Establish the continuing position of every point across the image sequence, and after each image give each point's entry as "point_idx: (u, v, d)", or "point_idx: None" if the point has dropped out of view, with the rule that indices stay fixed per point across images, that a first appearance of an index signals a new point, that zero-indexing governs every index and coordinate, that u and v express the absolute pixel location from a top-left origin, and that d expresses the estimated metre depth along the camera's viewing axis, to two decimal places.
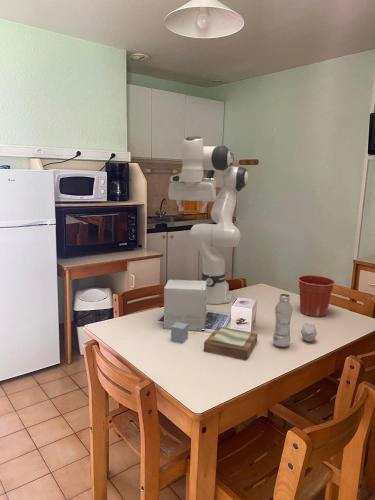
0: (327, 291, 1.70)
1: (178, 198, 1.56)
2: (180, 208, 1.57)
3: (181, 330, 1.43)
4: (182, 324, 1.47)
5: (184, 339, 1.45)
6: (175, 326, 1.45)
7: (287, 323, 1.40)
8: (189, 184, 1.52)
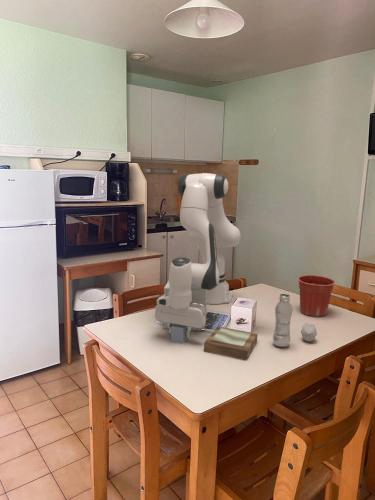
0: (327, 291, 1.70)
1: (165, 320, 1.46)
2: None
3: (181, 330, 1.43)
4: None
5: (184, 339, 1.45)
6: (175, 326, 1.45)
7: (287, 323, 1.40)
8: (176, 309, 1.42)
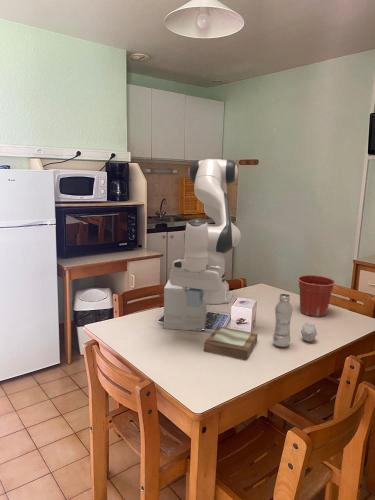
0: (327, 291, 1.70)
1: (180, 285, 1.42)
2: None
3: (197, 294, 1.39)
4: None
5: (200, 303, 1.41)
6: (191, 290, 1.41)
7: (287, 323, 1.40)
8: (192, 272, 1.37)
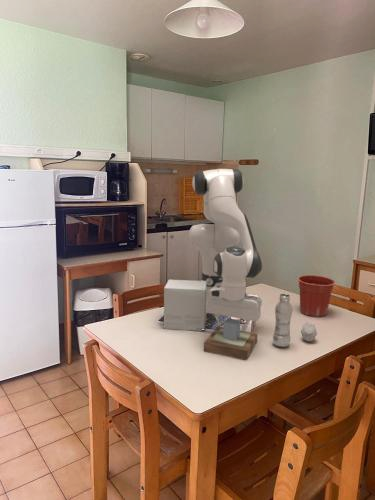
0: (327, 291, 1.70)
1: (217, 313, 1.40)
2: (219, 323, 1.42)
3: (235, 326, 1.38)
4: (234, 320, 1.41)
5: (237, 336, 1.40)
6: (228, 322, 1.39)
7: (287, 323, 1.40)
8: (231, 301, 1.36)
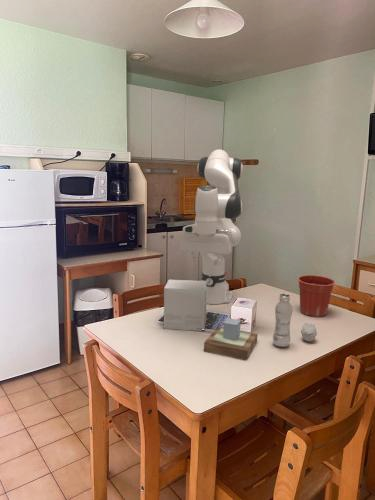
0: (327, 291, 1.70)
1: (191, 249, 1.47)
2: (193, 259, 1.49)
3: (235, 326, 1.38)
4: (234, 320, 1.41)
5: (237, 336, 1.40)
6: (228, 322, 1.39)
7: (287, 323, 1.40)
8: (203, 236, 1.43)
